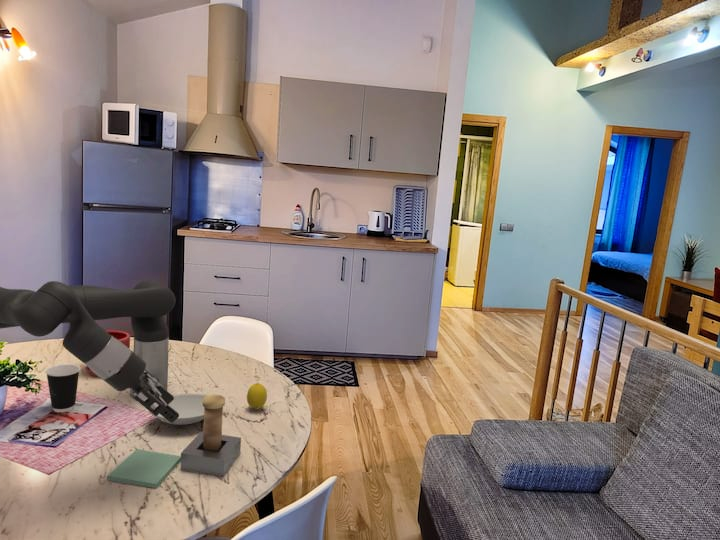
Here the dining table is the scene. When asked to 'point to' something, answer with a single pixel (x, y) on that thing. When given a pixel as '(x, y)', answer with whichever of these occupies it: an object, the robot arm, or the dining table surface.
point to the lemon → (256, 396)
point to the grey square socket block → (210, 456)
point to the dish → (186, 408)
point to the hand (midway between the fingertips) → (173, 409)
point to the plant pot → (119, 336)
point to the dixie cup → (63, 386)
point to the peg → (213, 422)
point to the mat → (144, 468)
